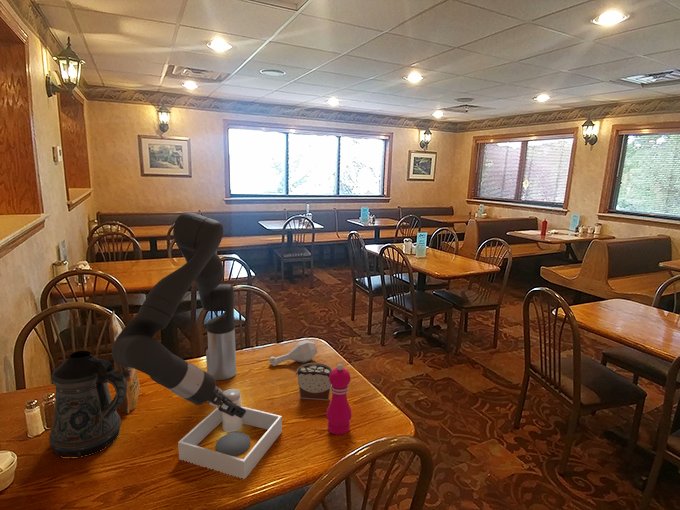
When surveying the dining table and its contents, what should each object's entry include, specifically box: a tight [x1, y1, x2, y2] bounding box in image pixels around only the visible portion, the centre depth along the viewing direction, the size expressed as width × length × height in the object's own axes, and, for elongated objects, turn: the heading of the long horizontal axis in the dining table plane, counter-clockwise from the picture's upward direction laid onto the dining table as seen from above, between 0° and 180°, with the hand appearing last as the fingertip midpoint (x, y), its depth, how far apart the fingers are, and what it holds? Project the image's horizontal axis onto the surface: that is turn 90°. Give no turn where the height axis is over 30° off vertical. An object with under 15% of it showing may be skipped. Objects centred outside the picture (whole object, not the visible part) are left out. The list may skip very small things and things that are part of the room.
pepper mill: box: [325, 363, 352, 436], centre depth 116 cm, size 7×7×20 cm
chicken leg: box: [268, 339, 318, 367], centre depth 155 cm, size 8×18×8 cm, turn 110°
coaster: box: [215, 431, 251, 457], centre depth 110 cm, size 9×9×1 cm
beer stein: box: [48, 350, 127, 457], centre depth 109 cm, size 16×19×25 cm
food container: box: [295, 362, 333, 401], centre depth 134 cm, size 12×6×10 cm, turn 84°
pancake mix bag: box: [108, 310, 141, 414], centre depth 126 cm, size 7×19×28 cm, turn 20°
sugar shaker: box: [221, 388, 243, 433], centre depth 107 cm, size 5×5×10 cm
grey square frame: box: [177, 405, 283, 480], centre depth 109 cm, size 19×19×5 cm
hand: (238, 409), depth 109 cm, fingers closed on sugar shaker, 5 cm apart
